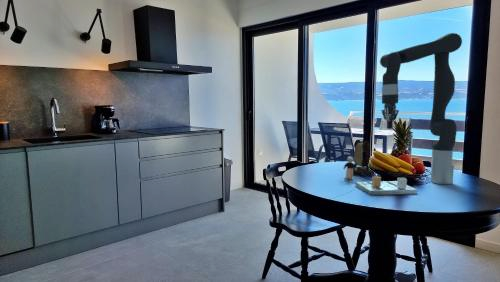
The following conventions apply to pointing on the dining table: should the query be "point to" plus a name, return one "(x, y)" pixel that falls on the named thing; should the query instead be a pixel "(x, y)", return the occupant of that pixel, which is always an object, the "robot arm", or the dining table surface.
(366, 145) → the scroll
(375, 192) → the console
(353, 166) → the grandmother figurine
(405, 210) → the dining table surface
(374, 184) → the fader
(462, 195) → the dining table surface
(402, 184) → the fader
